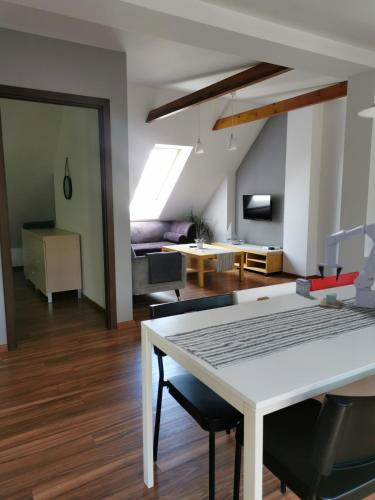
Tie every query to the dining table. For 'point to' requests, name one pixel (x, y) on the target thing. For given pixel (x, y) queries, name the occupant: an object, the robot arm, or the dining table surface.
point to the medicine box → (303, 287)
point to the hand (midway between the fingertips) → (329, 280)
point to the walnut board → (336, 305)
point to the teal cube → (331, 298)
